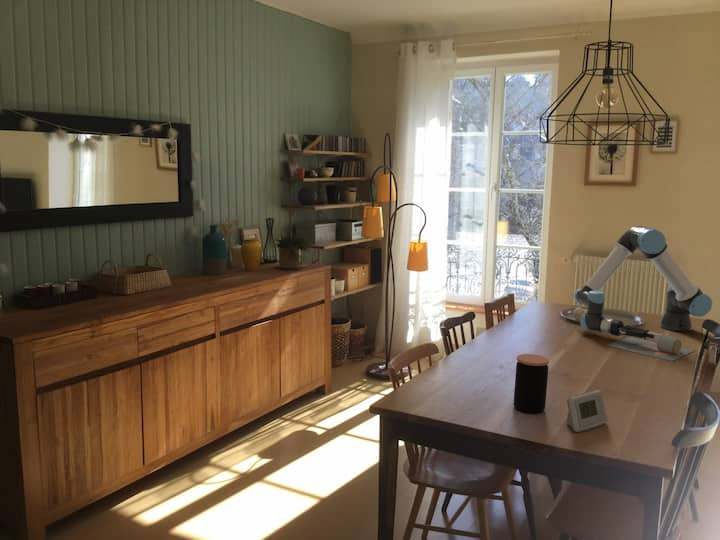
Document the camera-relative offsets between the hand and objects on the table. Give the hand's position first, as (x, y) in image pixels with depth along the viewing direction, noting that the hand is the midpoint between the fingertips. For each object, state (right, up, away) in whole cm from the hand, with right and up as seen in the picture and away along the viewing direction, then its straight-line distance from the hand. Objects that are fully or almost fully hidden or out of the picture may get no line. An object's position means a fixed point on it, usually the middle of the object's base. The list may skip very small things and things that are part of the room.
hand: (661, 337), depth 302 cm
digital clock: (-65, -20, -88) cm, 112 cm away
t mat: (-4, -5, +4) cm, 8 cm away
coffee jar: (-80, -17, -75) cm, 111 cm away
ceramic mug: (+3, -6, -2) cm, 7 cm away
